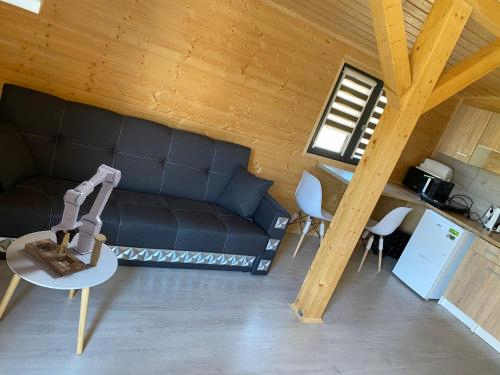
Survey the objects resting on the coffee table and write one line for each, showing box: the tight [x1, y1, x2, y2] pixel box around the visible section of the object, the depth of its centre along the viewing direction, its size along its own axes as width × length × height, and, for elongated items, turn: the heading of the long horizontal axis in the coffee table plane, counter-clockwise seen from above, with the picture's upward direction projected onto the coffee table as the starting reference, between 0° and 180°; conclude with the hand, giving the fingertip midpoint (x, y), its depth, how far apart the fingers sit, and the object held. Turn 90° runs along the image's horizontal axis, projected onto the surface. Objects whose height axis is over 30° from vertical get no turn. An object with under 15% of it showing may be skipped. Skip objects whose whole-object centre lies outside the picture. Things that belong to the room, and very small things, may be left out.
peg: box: [56, 230, 71, 254], centre depth 171 cm, size 4×4×10 cm
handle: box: [89, 233, 107, 267], centre depth 179 cm, size 5×6×15 cm
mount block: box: [24, 237, 86, 278], centre depth 174 cm, size 12×26×3 cm, turn 62°
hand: (63, 243), depth 171 cm, fingers closed on peg, 4 cm apart
